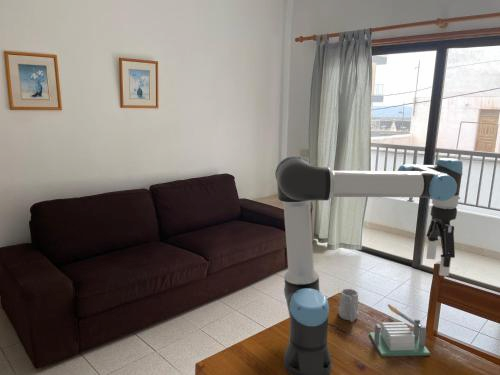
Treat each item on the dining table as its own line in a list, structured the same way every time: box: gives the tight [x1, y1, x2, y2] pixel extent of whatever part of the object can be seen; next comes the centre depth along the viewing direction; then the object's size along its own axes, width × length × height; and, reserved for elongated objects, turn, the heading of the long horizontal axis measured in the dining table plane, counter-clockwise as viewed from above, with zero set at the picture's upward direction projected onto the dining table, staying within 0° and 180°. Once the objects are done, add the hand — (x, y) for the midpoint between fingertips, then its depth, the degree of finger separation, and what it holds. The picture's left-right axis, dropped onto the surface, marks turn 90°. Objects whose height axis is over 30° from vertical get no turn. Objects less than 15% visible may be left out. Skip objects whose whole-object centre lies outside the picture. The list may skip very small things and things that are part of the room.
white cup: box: [338, 288, 360, 323], centre depth 147 cm, size 8×12×12 cm, turn 179°
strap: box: [387, 303, 423, 331], centre depth 130 cm, size 14×3×2 cm
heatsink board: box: [368, 318, 431, 357], centre depth 131 cm, size 16×12×8 cm
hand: (436, 266), depth 130 cm, fingers open, 13 cm apart
